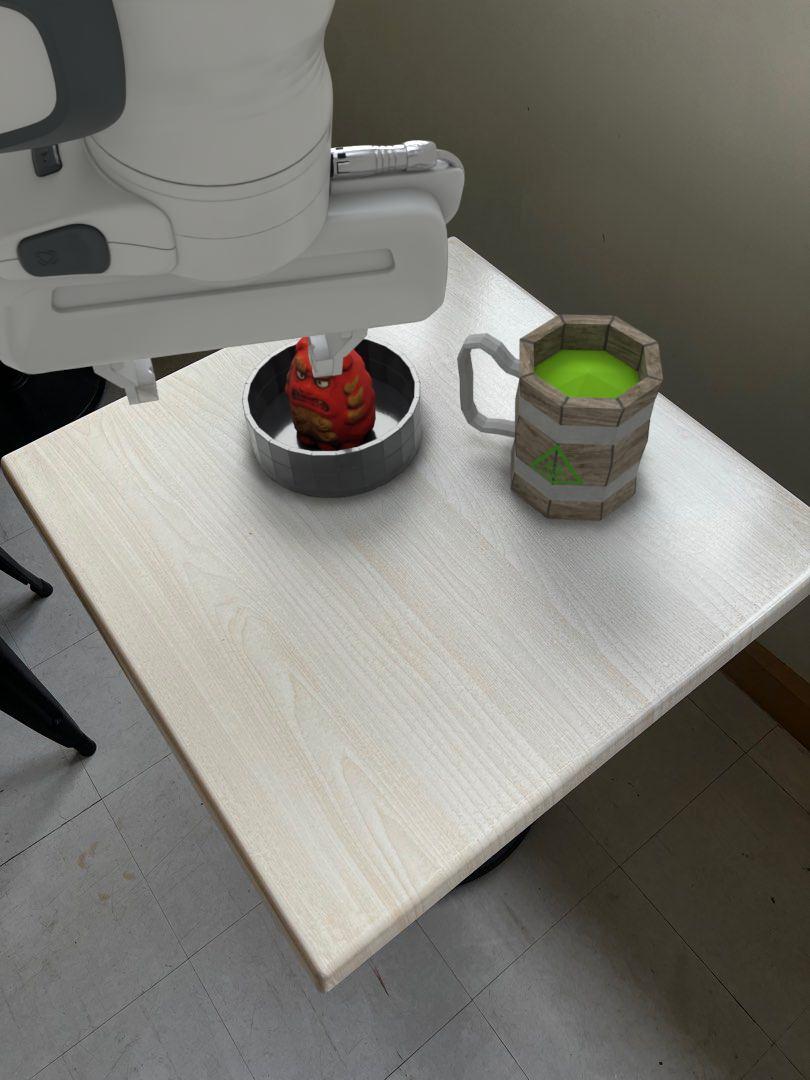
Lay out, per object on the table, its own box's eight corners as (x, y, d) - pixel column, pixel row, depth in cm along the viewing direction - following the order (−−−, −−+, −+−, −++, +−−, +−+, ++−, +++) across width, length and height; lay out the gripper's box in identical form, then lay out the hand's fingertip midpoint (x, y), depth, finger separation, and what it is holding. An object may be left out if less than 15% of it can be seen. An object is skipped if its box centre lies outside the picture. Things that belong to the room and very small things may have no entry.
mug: (656, 449, 74) (686, 335, 65) (613, 541, 68) (639, 431, 59) (483, 394, 79) (488, 281, 69) (430, 476, 73) (427, 365, 64)
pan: (265, 513, 71) (254, 471, 67) (243, 393, 80) (232, 350, 76) (440, 477, 73) (439, 434, 69) (400, 363, 82) (397, 320, 78)
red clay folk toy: (277, 441, 75) (245, 294, 63) (318, 389, 79) (295, 241, 67) (355, 468, 73) (337, 321, 61) (394, 413, 77) (384, 265, 65)
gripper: (451, 86, 37) (412, 306, 49) (-74, 127, 33) (27, 357, 45) (495, 196, 35) (442, 399, 47) (-67, 255, 30) (38, 461, 43)
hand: (235, 379), depth 46 cm, fingers open, 8 cm apart
